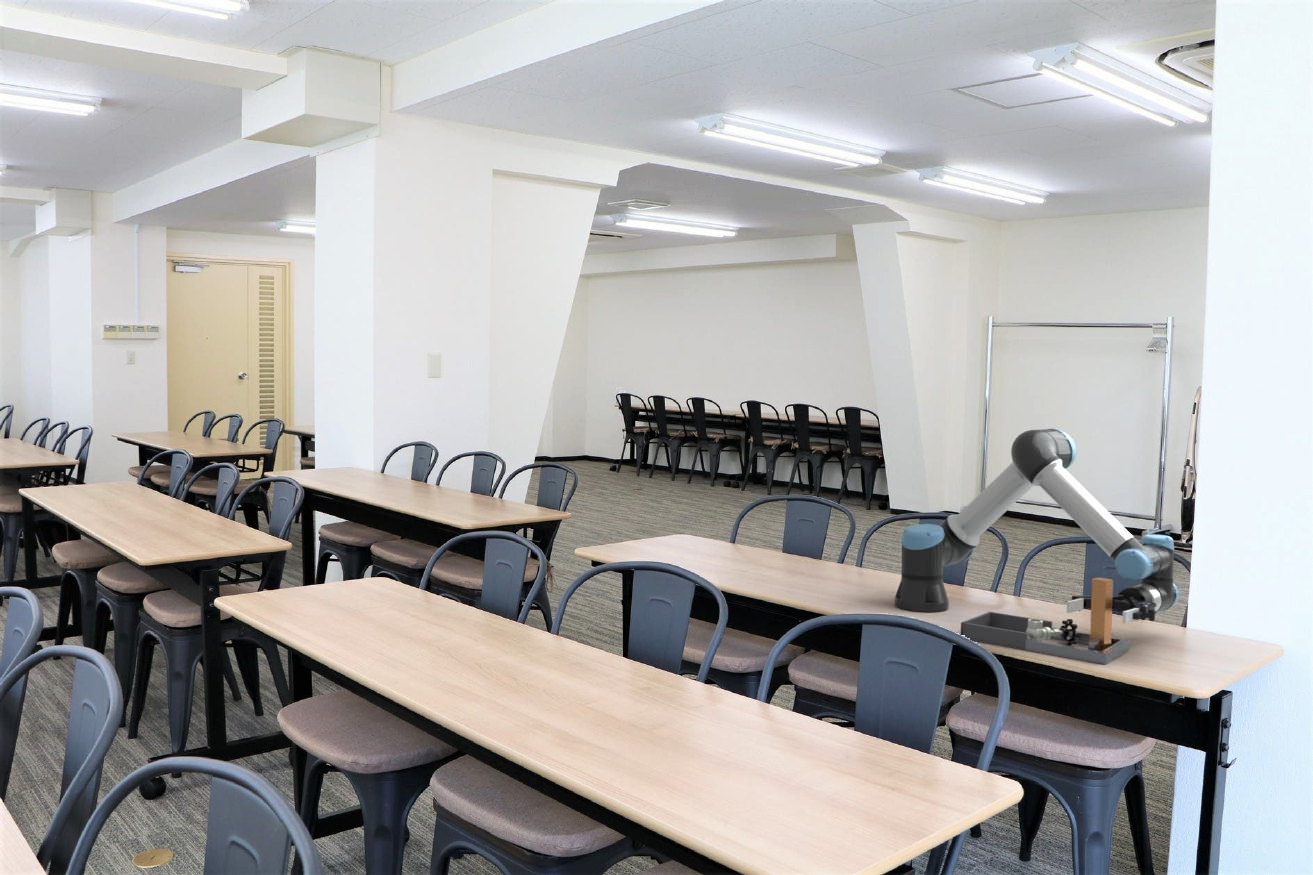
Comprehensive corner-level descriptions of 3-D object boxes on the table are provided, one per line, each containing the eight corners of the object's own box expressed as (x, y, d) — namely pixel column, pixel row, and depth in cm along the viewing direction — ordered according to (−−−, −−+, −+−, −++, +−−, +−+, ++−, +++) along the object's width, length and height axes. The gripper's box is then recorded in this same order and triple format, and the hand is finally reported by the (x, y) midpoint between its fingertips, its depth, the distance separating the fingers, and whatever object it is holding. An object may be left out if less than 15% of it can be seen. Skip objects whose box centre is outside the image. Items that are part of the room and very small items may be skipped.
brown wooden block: (1100, 647, 242) (1102, 574, 241) (1117, 650, 240) (1120, 576, 239) (1082, 657, 232) (1084, 581, 232) (1100, 660, 230) (1102, 584, 229)
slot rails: (1052, 636, 252) (1052, 627, 252) (1129, 649, 240) (1129, 639, 240) (1025, 650, 239) (1025, 639, 239) (1105, 664, 227) (1106, 653, 226)
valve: (1034, 650, 239) (1078, 648, 241) (1034, 623, 239) (1079, 622, 241) (1019, 643, 246) (1063, 642, 248) (1020, 617, 245) (1064, 615, 247)
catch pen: (989, 626, 263) (989, 611, 263) (1051, 636, 252) (1052, 621, 252) (960, 638, 250) (961, 622, 250) (1025, 649, 239) (1026, 633, 239)
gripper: (1189, 625, 237) (1148, 638, 224) (1089, 607, 257) (1045, 618, 243) (1191, 594, 237) (1149, 605, 224) (1090, 578, 256) (1046, 588, 243)
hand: (1095, 612), depth 234 cm, fingers open, 13 cm apart
